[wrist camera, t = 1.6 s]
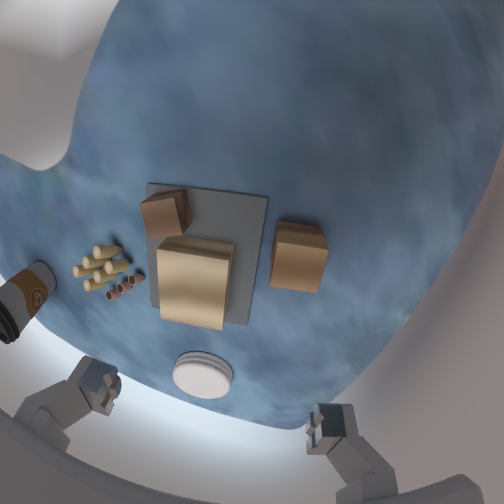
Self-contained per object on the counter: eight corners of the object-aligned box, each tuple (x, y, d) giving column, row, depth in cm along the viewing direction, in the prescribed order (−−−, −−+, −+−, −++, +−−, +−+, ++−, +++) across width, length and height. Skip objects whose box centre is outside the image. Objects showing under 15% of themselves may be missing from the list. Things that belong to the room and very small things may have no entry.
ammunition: (68, 271, 31) (104, 314, 34) (95, 246, 29) (135, 295, 32) (86, 255, 35) (118, 295, 38) (113, 230, 33) (148, 275, 36)
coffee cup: (64, 300, 40) (19, 354, 27) (35, 287, 40) (-10, 334, 27) (56, 261, 36) (0, 314, 23) (27, 250, 36) (-27, 295, 23)
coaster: (227, 389, 46) (224, 404, 43) (175, 376, 46) (170, 390, 43) (238, 358, 42) (235, 375, 39) (178, 343, 41) (172, 358, 38)
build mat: (148, 182, 30) (146, 183, 29) (267, 197, 30) (267, 198, 29) (153, 304, 38) (152, 307, 37) (247, 322, 38) (247, 324, 37)
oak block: (277, 219, 31) (278, 241, 25) (320, 227, 31) (329, 250, 25) (270, 258, 33) (269, 286, 28) (310, 264, 33) (316, 292, 28)
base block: (169, 234, 32) (156, 248, 28) (234, 244, 32) (228, 260, 28) (170, 300, 36) (161, 318, 33) (226, 310, 36) (222, 330, 33)
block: (154, 193, 30) (139, 203, 26) (186, 188, 29) (173, 197, 26) (162, 225, 31) (148, 238, 28) (192, 221, 31) (182, 235, 27)
